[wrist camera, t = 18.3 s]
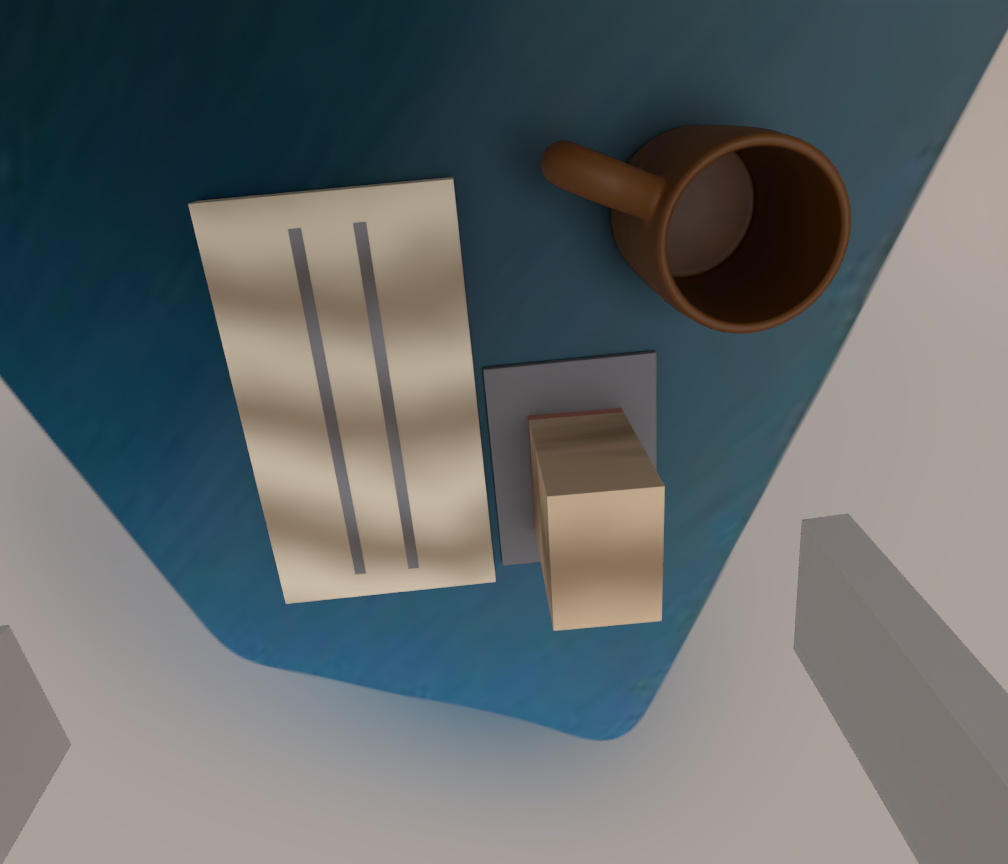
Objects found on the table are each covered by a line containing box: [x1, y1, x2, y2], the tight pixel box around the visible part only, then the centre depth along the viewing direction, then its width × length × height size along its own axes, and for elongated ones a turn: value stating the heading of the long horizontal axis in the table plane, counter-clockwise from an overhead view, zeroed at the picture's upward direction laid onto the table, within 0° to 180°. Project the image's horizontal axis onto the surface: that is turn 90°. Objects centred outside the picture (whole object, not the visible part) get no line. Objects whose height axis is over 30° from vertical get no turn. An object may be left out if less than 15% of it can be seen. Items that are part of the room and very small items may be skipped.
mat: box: [483, 351, 656, 566], centre depth 41 cm, size 12×9×1 cm
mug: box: [541, 125, 851, 333], centre depth 32 cm, size 12×8×9 cm, turn 70°
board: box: [188, 177, 496, 604], centre depth 39 cm, size 22×12×1 cm, turn 5°
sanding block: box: [528, 408, 665, 631], centre depth 37 cm, size 7×5×9 cm
